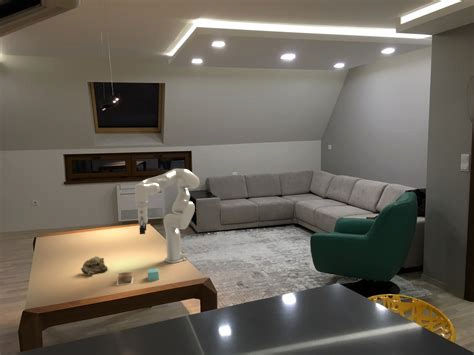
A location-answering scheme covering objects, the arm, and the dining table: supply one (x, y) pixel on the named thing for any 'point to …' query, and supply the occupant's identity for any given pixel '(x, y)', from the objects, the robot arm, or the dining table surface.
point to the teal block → (153, 274)
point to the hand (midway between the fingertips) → (143, 232)
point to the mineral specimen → (94, 266)
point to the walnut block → (124, 278)
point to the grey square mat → (126, 283)
